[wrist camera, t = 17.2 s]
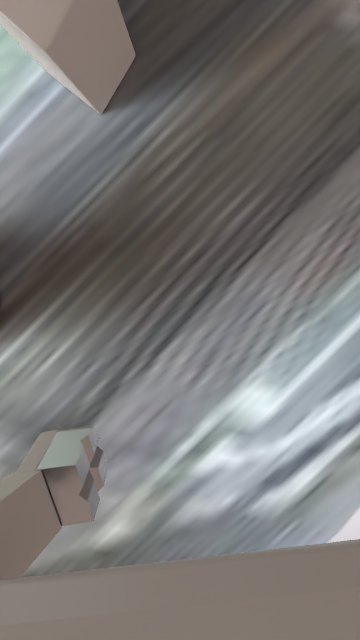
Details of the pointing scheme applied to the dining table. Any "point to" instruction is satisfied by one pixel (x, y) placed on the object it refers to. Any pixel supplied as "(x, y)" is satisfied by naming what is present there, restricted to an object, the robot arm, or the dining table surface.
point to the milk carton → (74, 43)
